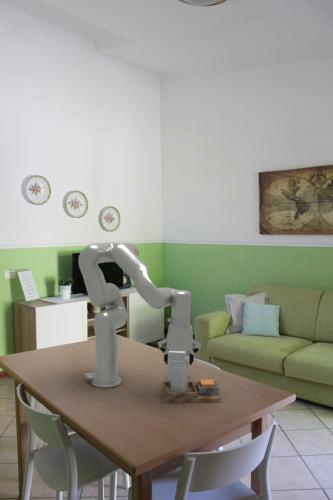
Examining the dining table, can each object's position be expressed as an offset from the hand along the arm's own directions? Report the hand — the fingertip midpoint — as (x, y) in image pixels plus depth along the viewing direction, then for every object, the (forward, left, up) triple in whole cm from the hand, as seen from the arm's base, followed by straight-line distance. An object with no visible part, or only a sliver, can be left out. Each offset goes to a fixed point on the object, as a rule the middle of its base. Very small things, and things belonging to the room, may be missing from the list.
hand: (178, 363), depth 173 cm
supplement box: (+2, +20, -13) cm, 24 cm away
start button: (+12, 0, -10) cm, 15 cm away
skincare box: (0, 0, -12) cm, 12 cm away
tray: (+5, 0, -13) cm, 14 cm away
